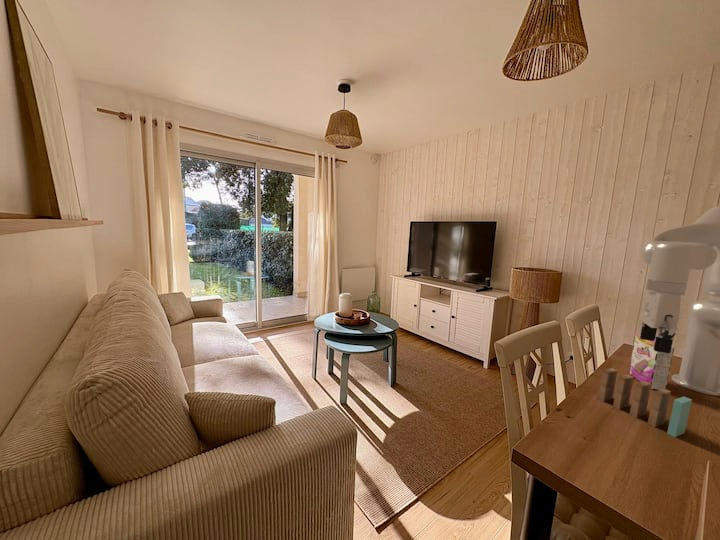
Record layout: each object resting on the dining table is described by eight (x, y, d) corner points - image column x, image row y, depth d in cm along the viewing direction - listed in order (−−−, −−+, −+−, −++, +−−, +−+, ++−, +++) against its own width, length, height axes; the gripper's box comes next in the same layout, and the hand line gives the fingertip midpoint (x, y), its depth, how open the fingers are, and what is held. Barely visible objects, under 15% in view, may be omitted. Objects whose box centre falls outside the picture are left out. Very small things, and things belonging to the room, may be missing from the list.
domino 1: (606, 395, 96) (611, 368, 94) (612, 398, 94) (617, 370, 93) (597, 398, 94) (602, 370, 92) (603, 401, 92) (608, 372, 91)
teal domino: (676, 429, 80) (683, 396, 79) (684, 433, 79) (692, 399, 77) (667, 433, 79) (674, 399, 77) (675, 437, 77) (682, 403, 76)
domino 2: (622, 403, 92) (627, 374, 90) (628, 406, 90) (633, 376, 89) (612, 406, 90) (618, 376, 88) (619, 409, 89) (624, 379, 87)
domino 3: (638, 411, 88) (644, 380, 86) (645, 414, 87) (651, 383, 85) (629, 414, 86) (635, 383, 85) (636, 418, 85) (642, 386, 83)
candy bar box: (627, 373, 111) (634, 333, 109) (642, 375, 110) (650, 334, 108) (649, 389, 100) (658, 345, 98) (666, 391, 99) (675, 347, 97)
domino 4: (656, 419, 84) (663, 388, 83) (664, 423, 83) (670, 391, 81) (647, 423, 82) (653, 391, 81) (654, 427, 81) (661, 394, 79)
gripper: (636, 280, 89) (626, 333, 92) (660, 291, 74) (648, 353, 77) (669, 283, 85) (658, 338, 88) (702, 295, 70) (688, 360, 73)
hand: (654, 345), depth 82 cm, fingers open, 9 cm apart
